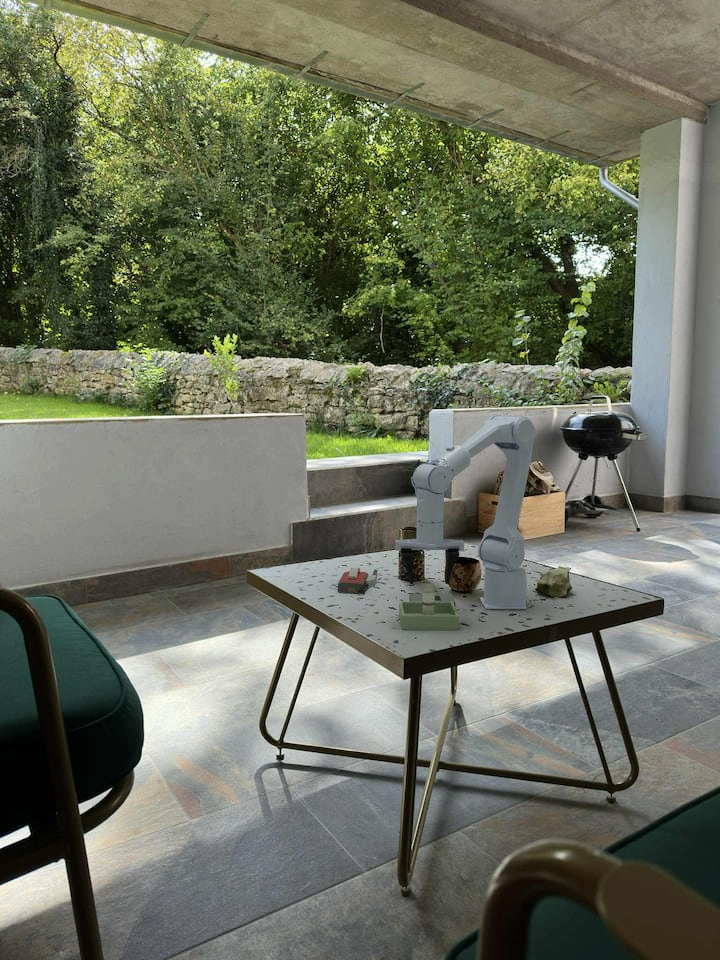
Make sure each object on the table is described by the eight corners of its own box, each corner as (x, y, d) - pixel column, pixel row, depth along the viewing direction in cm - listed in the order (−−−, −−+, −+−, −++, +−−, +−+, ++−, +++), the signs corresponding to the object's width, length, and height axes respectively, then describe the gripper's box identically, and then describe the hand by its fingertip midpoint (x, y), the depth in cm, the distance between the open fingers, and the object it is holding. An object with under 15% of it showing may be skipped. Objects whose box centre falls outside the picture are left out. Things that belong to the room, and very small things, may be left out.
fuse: (433, 617, 158) (434, 584, 157) (435, 621, 155) (435, 587, 154) (421, 617, 158) (421, 584, 157) (422, 621, 155) (422, 587, 154)
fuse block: (451, 601, 171) (451, 593, 171) (455, 611, 164) (455, 602, 164) (409, 601, 171) (409, 593, 171) (411, 611, 164) (411, 602, 164)
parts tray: (452, 614, 161) (452, 601, 161) (458, 630, 152) (459, 616, 151) (399, 614, 161) (399, 601, 161) (401, 629, 151) (402, 616, 151)
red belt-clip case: (371, 597, 175) (379, 575, 195) (371, 579, 175) (379, 559, 195) (335, 595, 177) (347, 574, 196) (335, 578, 176) (347, 558, 196)
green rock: (561, 593, 184) (569, 563, 182) (573, 607, 175) (582, 576, 173) (527, 586, 183) (535, 557, 181) (537, 600, 174) (545, 569, 172)
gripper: (397, 524, 149) (396, 588, 151) (467, 524, 150) (465, 588, 151) (395, 517, 156) (394, 578, 158) (462, 518, 157) (460, 578, 158)
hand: (429, 582), depth 155 cm, fingers open, 7 cm apart
